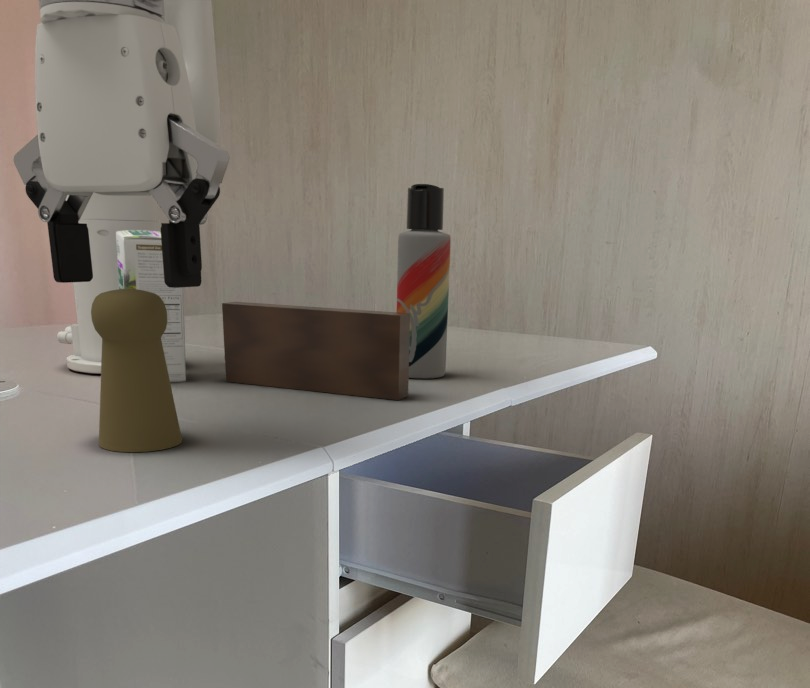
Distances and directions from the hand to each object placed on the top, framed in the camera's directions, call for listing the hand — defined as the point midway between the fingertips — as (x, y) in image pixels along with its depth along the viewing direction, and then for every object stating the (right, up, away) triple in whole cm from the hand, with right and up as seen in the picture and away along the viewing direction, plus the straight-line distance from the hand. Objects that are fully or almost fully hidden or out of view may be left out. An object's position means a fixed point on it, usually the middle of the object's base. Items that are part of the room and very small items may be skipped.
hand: (127, 284), depth 58 cm
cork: (0, -11, +4) cm, 12 cm away
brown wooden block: (+10, -2, +27) cm, 29 cm away
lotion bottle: (+21, +1, +37) cm, 42 cm away
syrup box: (-7, -1, +31) cm, 32 cm away
